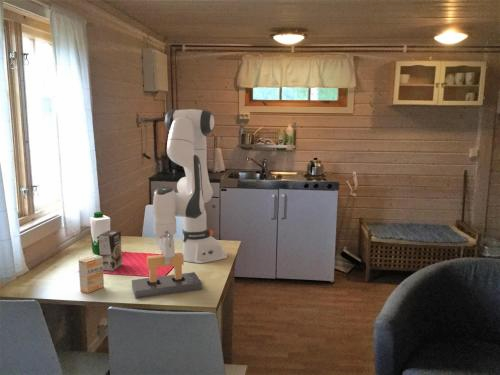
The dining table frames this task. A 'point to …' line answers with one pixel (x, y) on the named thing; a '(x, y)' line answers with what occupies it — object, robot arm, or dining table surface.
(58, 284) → the dining table surface
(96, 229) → the milk carton
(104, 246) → the coffee box
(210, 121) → the robot arm
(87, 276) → the supplement box
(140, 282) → the holed rail
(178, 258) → the orange u-shaped block
